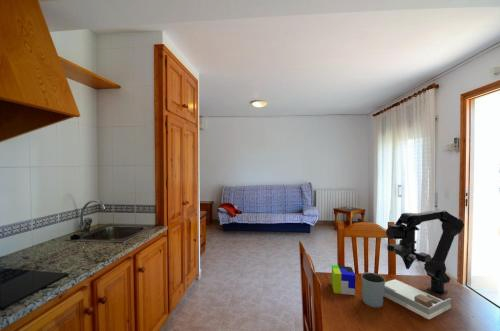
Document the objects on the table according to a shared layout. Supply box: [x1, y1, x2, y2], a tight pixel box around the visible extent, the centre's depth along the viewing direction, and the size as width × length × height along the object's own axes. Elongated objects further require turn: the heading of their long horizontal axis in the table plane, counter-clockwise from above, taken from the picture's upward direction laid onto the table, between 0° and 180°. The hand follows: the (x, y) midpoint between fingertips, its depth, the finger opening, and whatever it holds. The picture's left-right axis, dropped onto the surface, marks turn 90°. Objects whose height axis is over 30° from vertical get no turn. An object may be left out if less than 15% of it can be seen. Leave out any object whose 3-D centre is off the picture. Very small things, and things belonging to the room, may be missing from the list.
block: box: [414, 294, 433, 308], centre depth 110 cm, size 5×5×3 cm
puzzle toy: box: [331, 264, 356, 296], centre depth 127 cm, size 10×10×10 cm
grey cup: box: [360, 272, 386, 308], centre depth 115 cm, size 10×10×12 cm
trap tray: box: [383, 279, 452, 320], centre depth 118 cm, size 18×26×4 cm
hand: (407, 269), depth 124 cm, fingers closed
